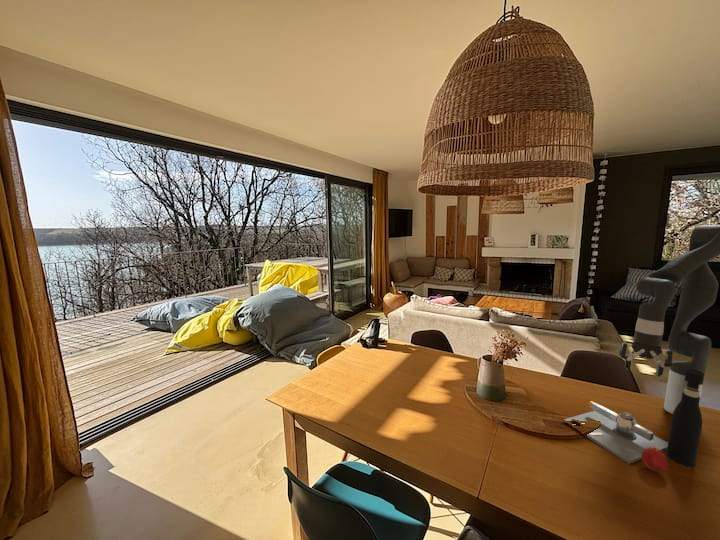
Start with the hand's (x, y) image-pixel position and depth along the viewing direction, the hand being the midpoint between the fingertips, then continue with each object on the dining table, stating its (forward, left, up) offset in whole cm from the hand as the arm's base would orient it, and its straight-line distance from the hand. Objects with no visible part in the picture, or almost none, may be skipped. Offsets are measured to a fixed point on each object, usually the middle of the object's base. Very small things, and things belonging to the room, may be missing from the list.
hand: (642, 372), depth 115 cm
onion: (+24, +18, -20) cm, 36 cm away
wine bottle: (+10, +18, -20) cm, 28 cm away
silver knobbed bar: (+15, +3, -18) cm, 24 cm away
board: (+17, +3, -19) cm, 26 cm away
